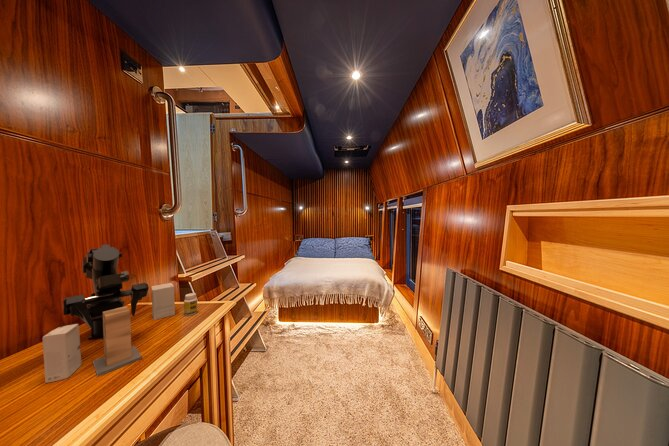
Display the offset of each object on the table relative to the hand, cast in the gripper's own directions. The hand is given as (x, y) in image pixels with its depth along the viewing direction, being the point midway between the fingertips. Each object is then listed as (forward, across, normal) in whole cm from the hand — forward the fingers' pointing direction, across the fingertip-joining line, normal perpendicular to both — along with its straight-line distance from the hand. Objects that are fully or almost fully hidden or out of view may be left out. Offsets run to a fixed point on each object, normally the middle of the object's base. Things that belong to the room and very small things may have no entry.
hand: (113, 321), depth 67 cm
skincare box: (+8, -10, +7) cm, 14 cm away
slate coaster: (+11, 0, +4) cm, 12 cm away
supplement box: (-7, +18, +23) cm, 30 cm away
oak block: (+10, 0, +3) cm, 11 cm away
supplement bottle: (-1, +25, +17) cm, 30 cm away
